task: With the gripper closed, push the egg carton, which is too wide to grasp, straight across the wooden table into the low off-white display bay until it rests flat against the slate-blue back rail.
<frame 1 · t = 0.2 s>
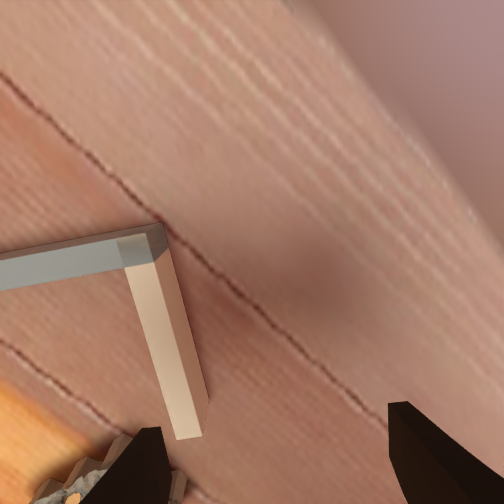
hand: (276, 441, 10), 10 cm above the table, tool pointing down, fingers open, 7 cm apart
display bay: (54, 341, 21), on the table
egg carton: (114, 483, 24), on the table
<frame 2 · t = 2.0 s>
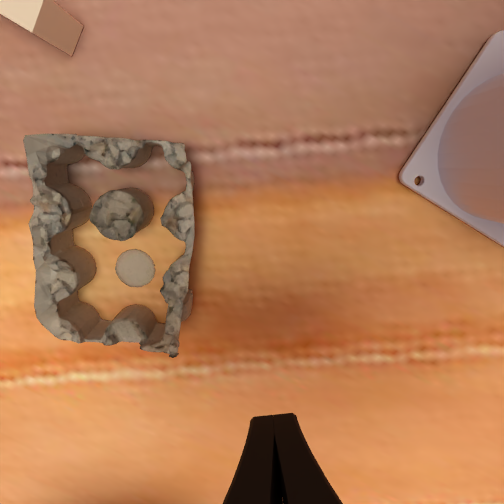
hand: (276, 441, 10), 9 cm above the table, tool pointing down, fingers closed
egg carton: (133, 237, 19), on the table
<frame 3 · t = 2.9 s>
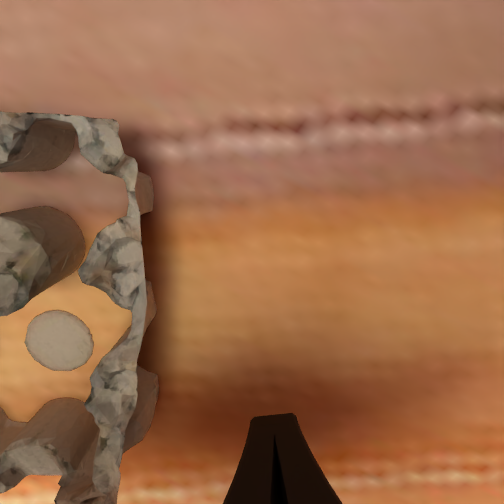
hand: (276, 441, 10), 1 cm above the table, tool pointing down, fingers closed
egg carton: (56, 289, 11), on the table
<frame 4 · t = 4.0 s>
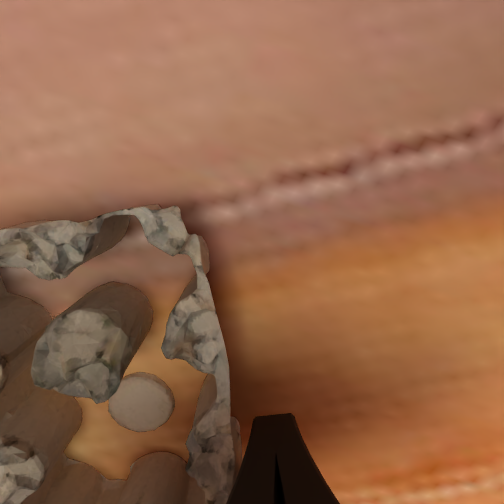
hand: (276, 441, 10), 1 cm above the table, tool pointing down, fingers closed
egg carton: (128, 355, 12), on the table, touching gripper
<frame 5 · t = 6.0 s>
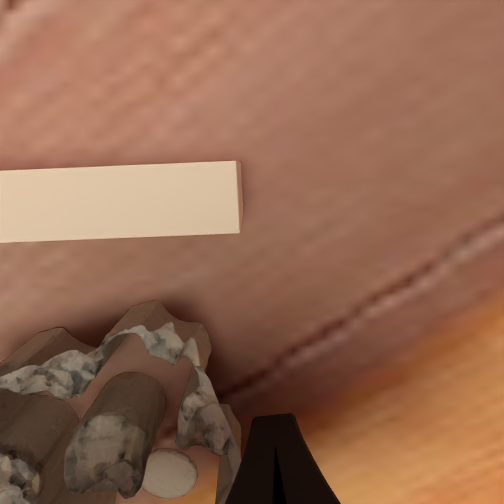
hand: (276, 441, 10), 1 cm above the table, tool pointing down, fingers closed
display bay: (85, 414, 12), on the table
egg carton: (150, 430, 13), on the table
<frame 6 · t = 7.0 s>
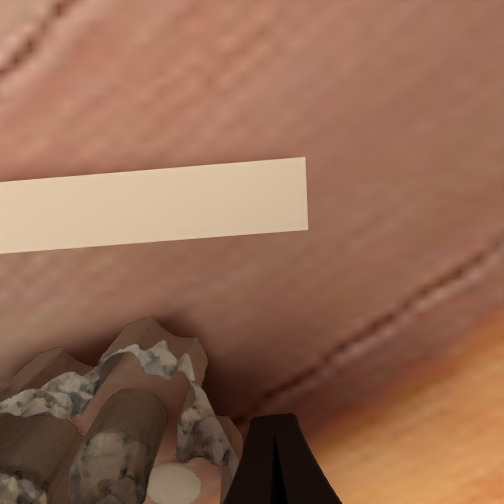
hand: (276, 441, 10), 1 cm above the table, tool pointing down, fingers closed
display bay: (134, 418, 12), on the table
egg carton: (154, 442, 13), on the table
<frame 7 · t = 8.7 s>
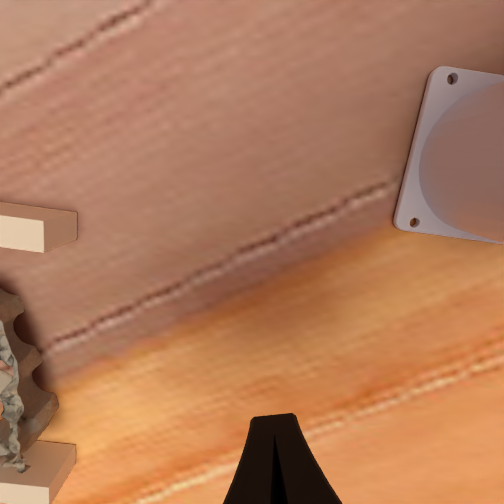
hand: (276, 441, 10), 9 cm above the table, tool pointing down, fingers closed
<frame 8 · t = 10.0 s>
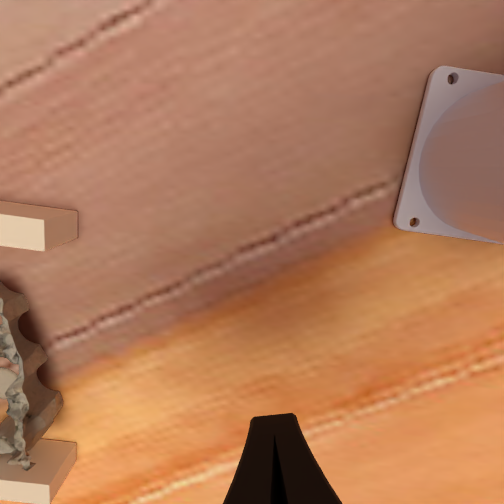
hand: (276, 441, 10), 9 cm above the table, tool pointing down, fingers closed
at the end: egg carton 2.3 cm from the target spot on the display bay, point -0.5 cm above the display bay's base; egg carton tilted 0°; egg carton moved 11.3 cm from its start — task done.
